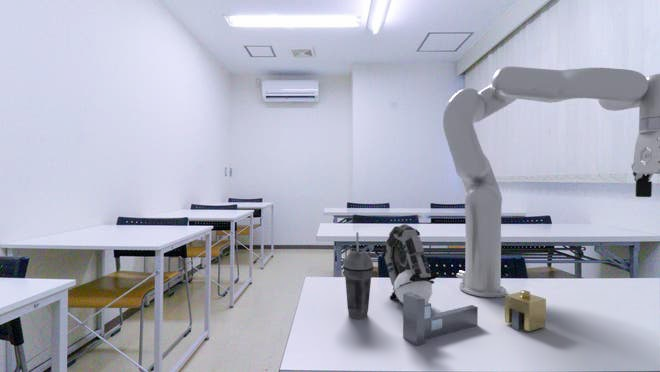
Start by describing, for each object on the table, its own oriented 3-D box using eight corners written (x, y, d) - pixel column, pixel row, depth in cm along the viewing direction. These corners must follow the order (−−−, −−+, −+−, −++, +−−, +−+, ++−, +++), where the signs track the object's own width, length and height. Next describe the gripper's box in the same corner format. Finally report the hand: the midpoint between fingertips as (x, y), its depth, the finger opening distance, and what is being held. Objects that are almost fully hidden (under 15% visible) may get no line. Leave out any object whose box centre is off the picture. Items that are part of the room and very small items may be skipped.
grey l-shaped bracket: (403, 337, 69) (403, 293, 69) (467, 320, 78) (467, 281, 78) (416, 345, 65) (416, 299, 65) (482, 327, 74) (482, 286, 74)
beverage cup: (376, 311, 83) (376, 230, 83) (369, 323, 76) (370, 234, 76) (347, 308, 85) (348, 229, 85) (338, 319, 78) (339, 233, 78)
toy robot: (453, 293, 79) (424, 213, 91) (416, 297, 76) (391, 213, 88) (420, 315, 92) (398, 243, 105) (388, 319, 90) (369, 244, 102)
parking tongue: (511, 327, 74) (512, 309, 74) (531, 322, 77) (531, 304, 77) (518, 330, 73) (518, 312, 73) (537, 324, 76) (537, 306, 76)
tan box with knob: (504, 321, 76) (505, 290, 76) (521, 317, 79) (521, 286, 79) (529, 331, 71) (529, 297, 71) (545, 326, 74) (546, 293, 74)
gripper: (618, 132, 90) (617, 196, 90) (670, 120, 73) (668, 198, 73) (651, 131, 89) (649, 196, 89) (711, 119, 72) (709, 199, 72)
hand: (658, 197), depth 81 cm, fingers open, 9 cm apart
